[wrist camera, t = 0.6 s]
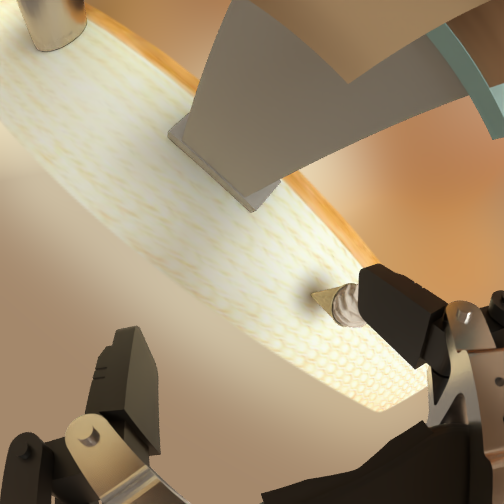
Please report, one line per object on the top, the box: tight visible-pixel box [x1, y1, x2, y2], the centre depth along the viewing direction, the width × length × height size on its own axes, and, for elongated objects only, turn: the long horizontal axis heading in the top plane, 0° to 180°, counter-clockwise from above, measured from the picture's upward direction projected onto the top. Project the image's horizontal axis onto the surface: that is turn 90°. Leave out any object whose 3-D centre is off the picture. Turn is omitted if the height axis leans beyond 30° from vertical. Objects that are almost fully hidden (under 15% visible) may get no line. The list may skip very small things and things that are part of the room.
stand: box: [168, 0, 504, 212], centre depth 19 cm, size 14×5×30 cm, turn 49°
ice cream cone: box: [311, 283, 367, 327], centre depth 30 cm, size 5×5×15 cm
